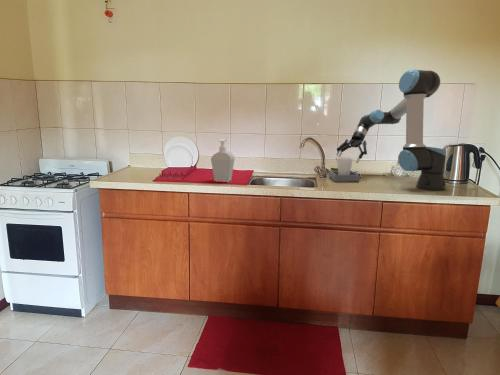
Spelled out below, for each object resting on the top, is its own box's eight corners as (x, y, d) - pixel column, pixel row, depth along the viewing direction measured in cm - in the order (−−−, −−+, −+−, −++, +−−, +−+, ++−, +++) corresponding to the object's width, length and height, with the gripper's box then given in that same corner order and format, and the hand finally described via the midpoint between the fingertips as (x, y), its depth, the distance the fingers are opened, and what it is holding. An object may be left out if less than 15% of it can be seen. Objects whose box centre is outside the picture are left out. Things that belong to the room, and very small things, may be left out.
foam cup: (348, 180, 231) (349, 159, 228) (333, 178, 236) (334, 158, 233) (353, 177, 239) (354, 157, 236) (339, 176, 244) (340, 156, 241)
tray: (358, 182, 230) (359, 175, 229) (335, 182, 230) (335, 175, 229) (351, 177, 245) (352, 170, 244) (329, 177, 244) (329, 170, 243)
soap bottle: (235, 180, 235) (235, 138, 229) (231, 183, 225) (230, 140, 220) (216, 179, 237) (215, 138, 232) (211, 182, 228) (210, 139, 222)
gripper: (379, 140, 239) (366, 166, 232) (343, 138, 256) (331, 162, 248) (376, 132, 235) (363, 159, 227) (340, 130, 251) (327, 155, 243)
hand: (346, 161), depth 238 cm, fingers open, 13 cm apart
